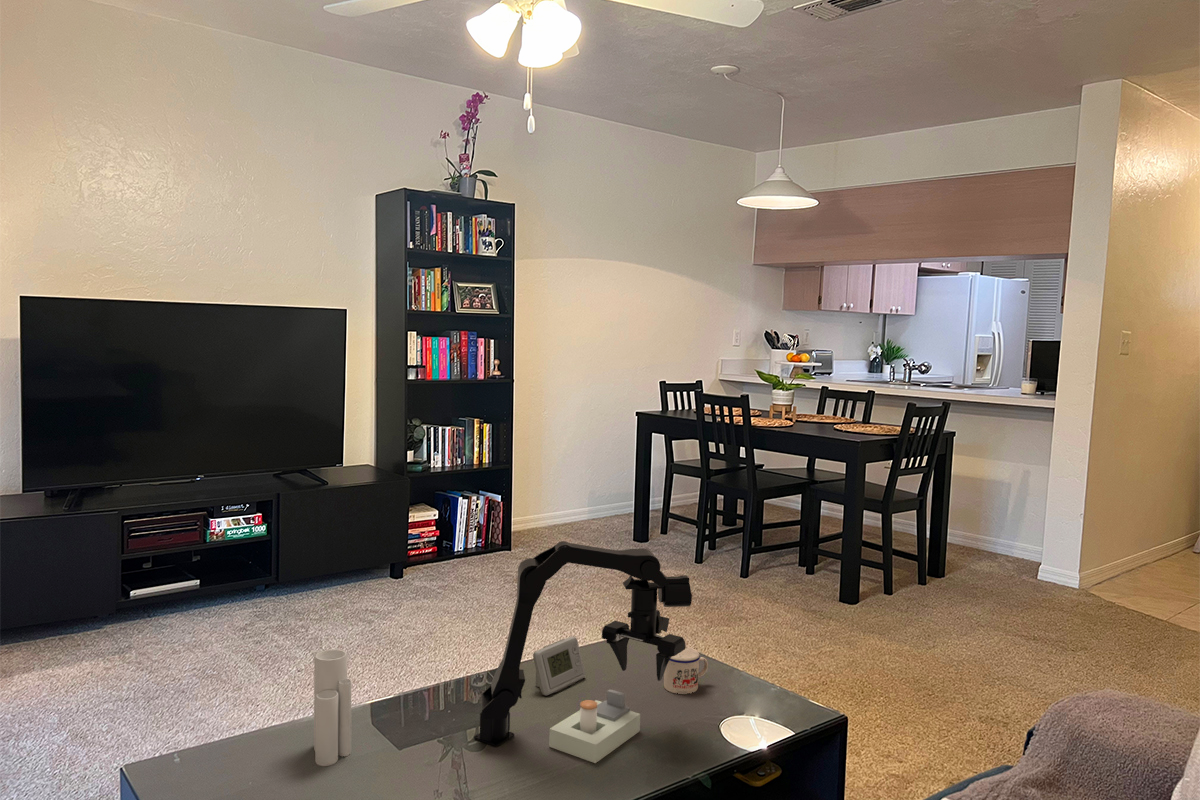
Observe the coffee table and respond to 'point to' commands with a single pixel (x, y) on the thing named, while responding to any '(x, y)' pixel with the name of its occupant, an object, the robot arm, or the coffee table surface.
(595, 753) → the socket block
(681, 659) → the teacup with lid
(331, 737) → the vase
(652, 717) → the coffee table surface
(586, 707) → the plug
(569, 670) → the digital clock
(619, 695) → the shutter
